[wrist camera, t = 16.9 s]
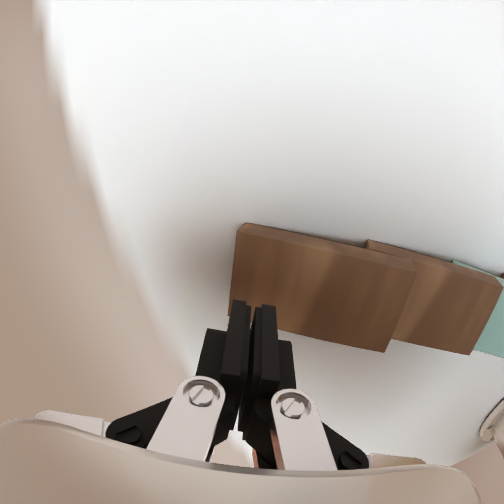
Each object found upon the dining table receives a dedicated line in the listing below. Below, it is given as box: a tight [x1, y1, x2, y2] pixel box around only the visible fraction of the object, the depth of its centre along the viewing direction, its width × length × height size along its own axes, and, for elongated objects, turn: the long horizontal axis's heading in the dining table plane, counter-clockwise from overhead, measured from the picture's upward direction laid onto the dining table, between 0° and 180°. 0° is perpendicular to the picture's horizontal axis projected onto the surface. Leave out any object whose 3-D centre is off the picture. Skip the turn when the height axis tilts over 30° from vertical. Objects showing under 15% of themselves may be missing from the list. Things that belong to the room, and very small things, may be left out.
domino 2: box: [366, 239, 504, 355], centre depth 16 cm, size 2×5×9 cm
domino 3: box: [452, 260, 504, 358], centre depth 16 cm, size 2×5×9 cm
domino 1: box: [228, 223, 417, 353], centre depth 16 cm, size 2×5×9 cm
